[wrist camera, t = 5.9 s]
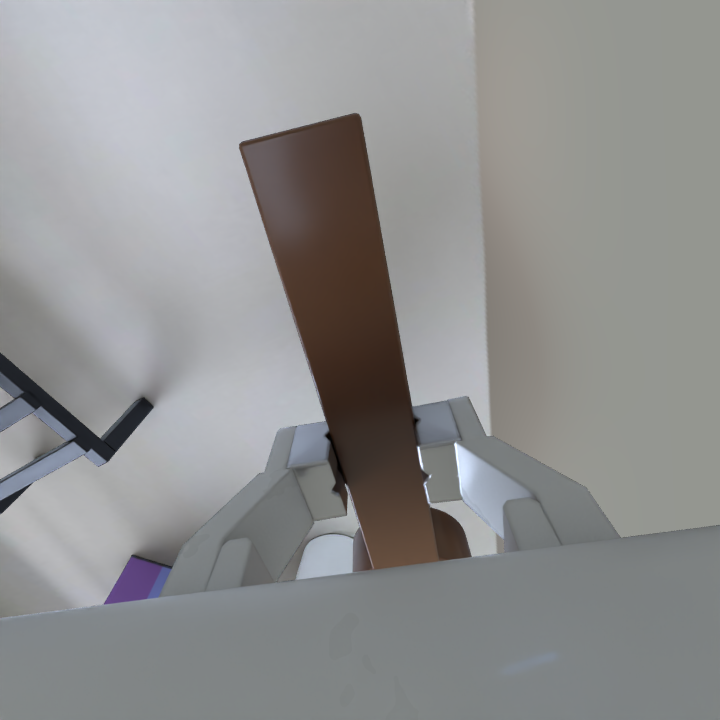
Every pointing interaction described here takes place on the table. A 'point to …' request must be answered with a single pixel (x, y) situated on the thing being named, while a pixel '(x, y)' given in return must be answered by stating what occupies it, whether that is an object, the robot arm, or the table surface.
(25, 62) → the table surface
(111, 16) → the table surface
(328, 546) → the cup
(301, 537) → the robot arm
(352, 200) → the plank on round base
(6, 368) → the rack
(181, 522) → the table surface
